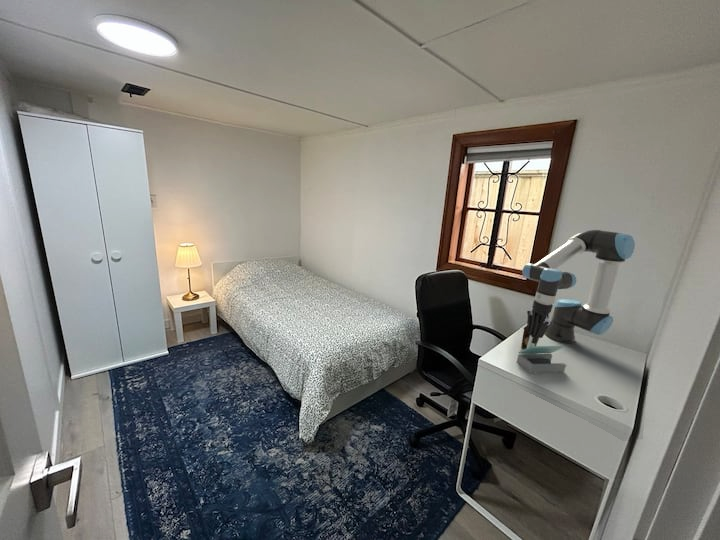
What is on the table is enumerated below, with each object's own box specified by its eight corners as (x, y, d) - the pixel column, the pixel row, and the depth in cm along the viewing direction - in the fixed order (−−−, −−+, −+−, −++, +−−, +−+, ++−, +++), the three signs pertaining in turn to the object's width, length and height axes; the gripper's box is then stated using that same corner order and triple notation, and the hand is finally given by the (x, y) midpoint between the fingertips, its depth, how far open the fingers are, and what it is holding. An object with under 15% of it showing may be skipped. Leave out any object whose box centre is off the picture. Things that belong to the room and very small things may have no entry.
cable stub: (546, 366, 144) (544, 359, 145) (552, 365, 141) (549, 357, 142) (528, 367, 142) (526, 360, 143) (533, 365, 139) (531, 358, 141)
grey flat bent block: (548, 360, 147) (550, 353, 146) (564, 372, 138) (566, 364, 137) (516, 361, 144) (518, 354, 143) (530, 373, 135) (532, 365, 134)
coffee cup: (540, 354, 153) (546, 331, 150) (524, 353, 153) (530, 330, 150) (531, 346, 161) (536, 324, 158) (516, 344, 161) (521, 322, 158)
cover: (550, 353, 146) (550, 351, 147) (564, 347, 139) (563, 346, 139) (518, 353, 143) (518, 352, 143) (530, 347, 135) (530, 346, 136)
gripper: (526, 296, 140) (514, 341, 146) (547, 307, 127) (533, 355, 134) (540, 297, 141) (527, 341, 147) (562, 308, 129) (547, 355, 135)
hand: (530, 348), depth 141 cm, fingers closed
